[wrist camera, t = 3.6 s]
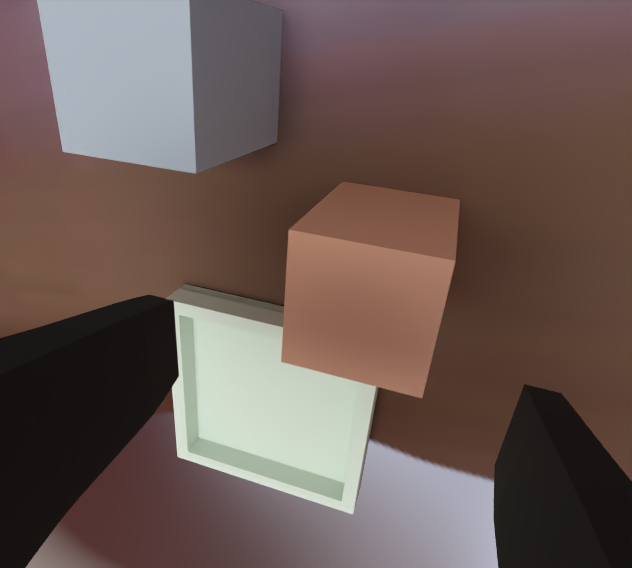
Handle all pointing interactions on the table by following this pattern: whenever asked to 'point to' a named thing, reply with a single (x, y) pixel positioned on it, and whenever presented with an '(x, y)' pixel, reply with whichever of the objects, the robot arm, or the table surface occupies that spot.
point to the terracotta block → (369, 285)
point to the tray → (264, 402)
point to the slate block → (164, 79)
